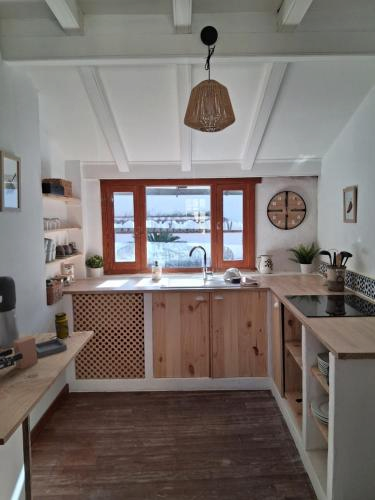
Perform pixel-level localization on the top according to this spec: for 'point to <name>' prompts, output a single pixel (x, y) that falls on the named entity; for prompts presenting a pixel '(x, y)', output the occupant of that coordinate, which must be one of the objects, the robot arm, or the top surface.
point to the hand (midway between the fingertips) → (17, 353)
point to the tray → (50, 347)
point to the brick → (25, 351)
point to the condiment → (61, 326)
